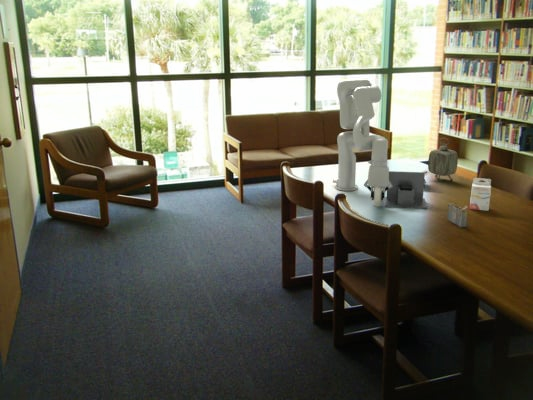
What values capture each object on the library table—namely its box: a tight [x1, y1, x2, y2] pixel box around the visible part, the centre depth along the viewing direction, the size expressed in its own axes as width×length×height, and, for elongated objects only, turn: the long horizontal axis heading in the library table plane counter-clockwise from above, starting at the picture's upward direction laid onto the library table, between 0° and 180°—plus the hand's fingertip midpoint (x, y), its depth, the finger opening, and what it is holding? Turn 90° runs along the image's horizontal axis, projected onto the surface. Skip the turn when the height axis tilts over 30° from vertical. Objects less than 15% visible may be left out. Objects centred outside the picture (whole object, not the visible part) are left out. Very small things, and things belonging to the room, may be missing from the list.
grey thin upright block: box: [446, 203, 470, 228], centre depth 240 cm, size 11×3×10 cm, turn 13°
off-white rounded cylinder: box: [372, 187, 383, 208], centre depth 266 cm, size 4×4×12 cm
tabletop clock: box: [427, 137, 459, 182], centre depth 310 cm, size 14×9×25 cm, turn 34°
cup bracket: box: [383, 170, 428, 210], centre depth 268 cm, size 15×20×15 cm
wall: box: [422, 169, 431, 185], centre depth 301 cm, size 16×9×15 cm
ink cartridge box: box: [469, 177, 492, 212], centre depth 258 cm, size 9×5×15 cm, turn 71°
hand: (377, 199), depth 267 cm, fingers closed on off-white rounded cylinder, 4 cm apart
